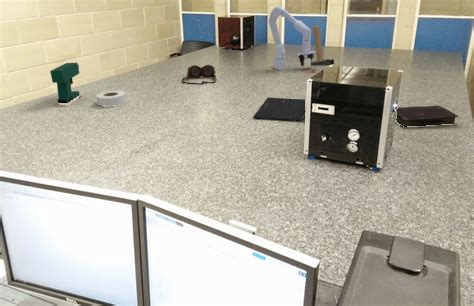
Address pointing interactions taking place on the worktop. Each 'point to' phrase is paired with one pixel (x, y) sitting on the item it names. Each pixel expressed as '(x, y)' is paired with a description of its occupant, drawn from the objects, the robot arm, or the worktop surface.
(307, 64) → the hollow square socket
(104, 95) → the roll of tape
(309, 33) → the robot arm
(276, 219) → the worktop surface
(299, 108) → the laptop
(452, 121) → the diary
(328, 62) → the hammer
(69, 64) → the power tool
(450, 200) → the worktop surface
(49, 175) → the worktop surface
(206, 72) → the goggles
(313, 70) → the brown rectangular board
